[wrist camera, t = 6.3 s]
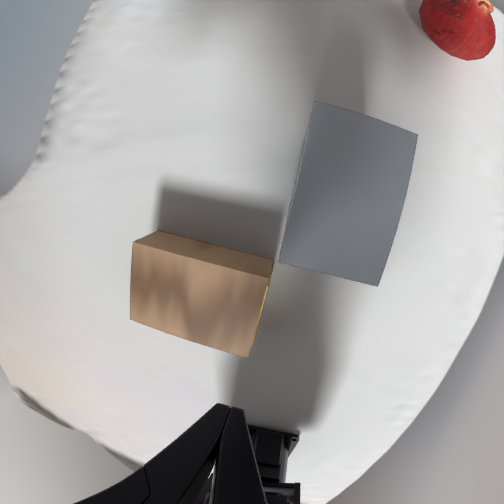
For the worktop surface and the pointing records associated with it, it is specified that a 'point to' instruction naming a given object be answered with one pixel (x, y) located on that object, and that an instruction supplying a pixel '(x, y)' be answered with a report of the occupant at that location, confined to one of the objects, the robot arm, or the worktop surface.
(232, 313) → the walnut block
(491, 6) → the onion
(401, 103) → the worktop surface
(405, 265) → the worktop surface
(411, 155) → the grey block
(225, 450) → the robot arm
